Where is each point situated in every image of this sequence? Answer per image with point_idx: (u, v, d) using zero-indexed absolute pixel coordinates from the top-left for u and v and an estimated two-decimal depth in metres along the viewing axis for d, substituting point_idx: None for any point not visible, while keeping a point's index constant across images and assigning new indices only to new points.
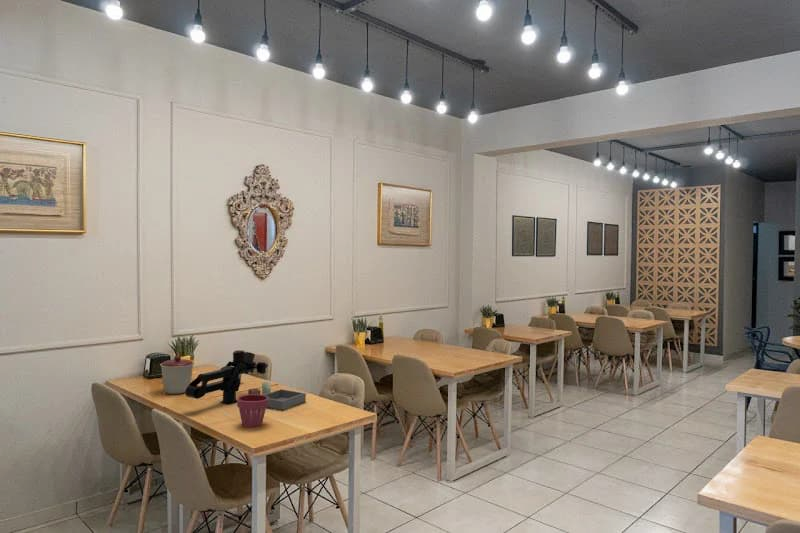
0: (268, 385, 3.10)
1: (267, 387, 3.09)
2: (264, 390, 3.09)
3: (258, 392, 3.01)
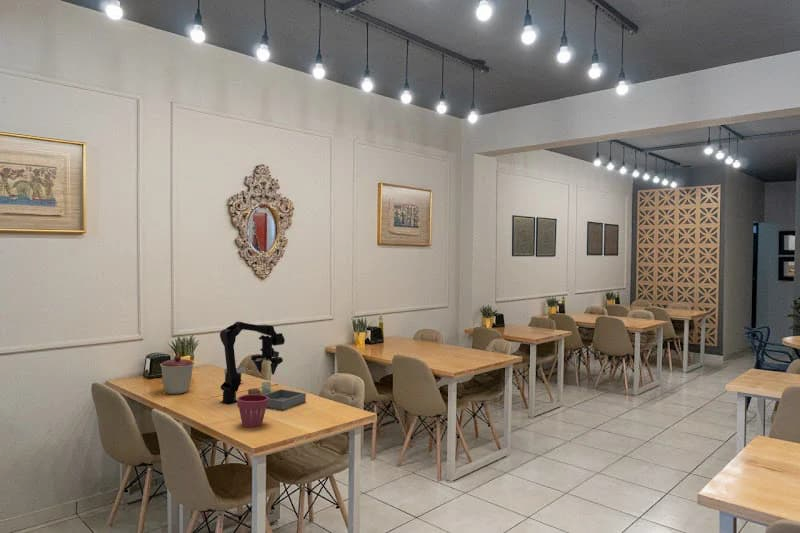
0: (268, 385, 3.10)
1: (267, 387, 3.09)
2: (264, 390, 3.09)
3: (258, 392, 3.01)
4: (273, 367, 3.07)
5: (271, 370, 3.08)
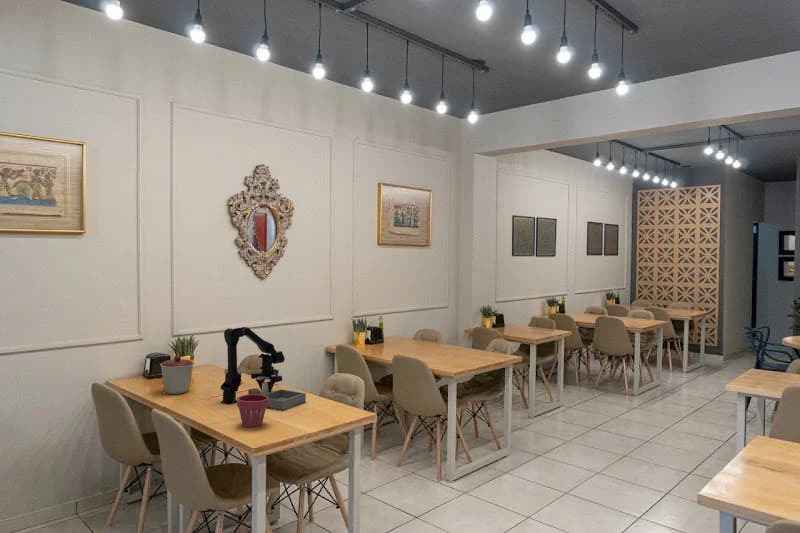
0: None
1: (267, 387, 3.09)
2: (264, 390, 3.09)
3: (258, 392, 3.01)
4: (270, 385, 3.08)
5: (268, 388, 3.09)
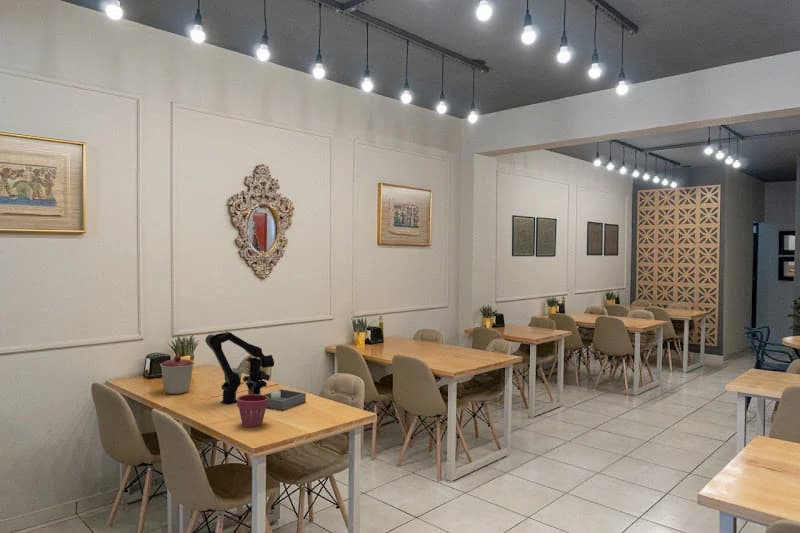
0: (278, 394, 2.86)
1: (277, 397, 2.86)
2: None
3: None
4: (254, 390, 2.98)
5: None
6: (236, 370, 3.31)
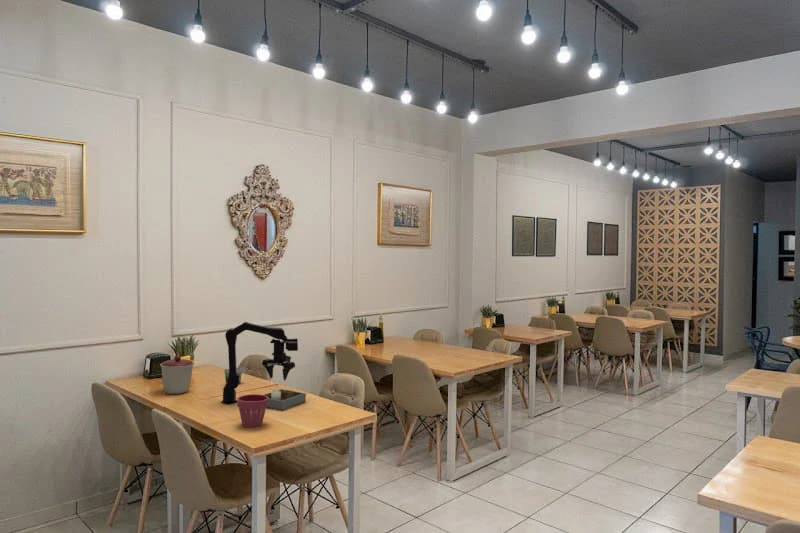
0: (279, 394, 2.87)
1: (277, 396, 2.86)
2: None
3: (292, 393, 2.97)
4: (285, 372, 2.95)
5: (283, 375, 2.95)
6: None
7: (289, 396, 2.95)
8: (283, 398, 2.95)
